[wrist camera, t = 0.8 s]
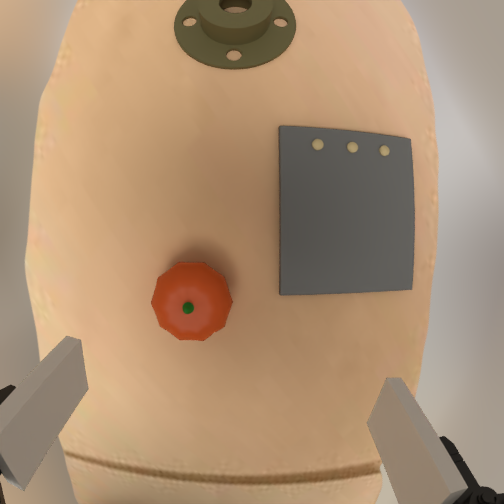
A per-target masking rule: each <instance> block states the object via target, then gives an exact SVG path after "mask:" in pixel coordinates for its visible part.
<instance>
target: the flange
mask: <svg viewBox="0 0 504 504" xmlns="http://www.w3.org/2000/svg"><path fill="white" fill-rule="evenodd" d="M229 7H242V8H245V9H248V10H247V11H245V12H242V13H229V12H226V11H224V10H223V9H225V8H229ZM188 18H194V19H196V20H197V22H196V23H195V24H194V25H192V26H184V25H183V24H182V23H183V21H184V20H186V19H188ZM275 19H284V20H285V21H286V22H287V23H288V25H287V26H285V27H279V26H276V25H275V24H274V22H273V21H274V20H275ZM295 30H296V20H295V16H294V13H293V11H292V9H291V8H290V6H289V5H288V3H287V2H286V1H285V0H186V1H185V2H184V4H183V5H182V6H181V7H180V9H179V11H178V13H177V15H176V18H175V22H174V31H175V35H176V39H177V41H178V43H179V45H180V47H181V48H182V49H183V50H184V51H185V52H186V53H187V54H188V55H189V56H190V57H192V58H193V59H195V60H197V61H198V62H200V63H203V64H205V65H208V66H212V67H216V68H221V69H247V68H252V67H256V66H260V65H263V64H265V63H268V62H270V61H272V60H274V59H275V58H277V57H278V56H280V55H281V54H282V53H283V52H284V51H285V50H286V49H287V48H288V47H289V45H290V44H291V42H292V40H293V37H294V34H295ZM232 50H236V51H239V52H240V53H241V55H242V57H241V58H240V59H239V60H236V61H231V60H229V59H228V58H227V57H226V54H227V53H228V52H229V51H232Z"/></svg>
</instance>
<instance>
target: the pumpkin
mask: <svg viewBox="0 0 504 504" xmlns="http://www.w3.org/2000/svg"><path fill="white" fill-rule="evenodd" d="M232 303H233V301H232V298H231V295H230V293H229V290H228V287H227V284H226V280H225V277H224V276H222V275H221V274H219V273H218V272H216V271H215V270H213V269H212V268H211V267H210V266H208V265H207V264H206V263H204V262H202V263H185V262H179V263H177V264H176V265H175V266H173V267H172V268H171V269H170V270H168V271H167V272H165V273H164V274H163V275H161V276H160V277H159V278H158V279H157V283H156V288H155V291H154V295H153V298H152V301H151V304H152V307H153V309H154V311H155V314H156V316H157V319H158V322H159V325H160V327H162V328H164V329H165V330H167V331H168V332H170V333H171V334H172V335H174V336H175V337H176V338H178V339H179V340H200V341H204V340H205V339H207V338H208V337H209V336H211V335H212V334H213V333H214V332H217V331H218V330H220V329H222V328H223V327H225V324H226V320H227V317H228V314H229V311H230V308H231V305H232Z"/></svg>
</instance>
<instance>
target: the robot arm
mask: <svg viewBox="0 0 504 504" xmlns="http://www.w3.org/2000/svg"><path fill="white" fill-rule="evenodd" d="M87 390H88V383H87V377H86V371H85V365H84V358H83V351H82V343H81V340H80V339H76V338H73V337H69V336H66V337H65V338H64V339H63V340H62V341H61V342H60V343H59V344H58V345H57V346H56V347H55V348H54V349H53V350H52V351H51V352H50V353H49V354H48V355H47V356H46V357H45V358H44V359H43V360H42V361H41V362H40V363H39V364H38V365H37V366H36V367H35V368H34V369H33V370H32V371H31V373H30V374H29V375H28V376H27V377H26V378H25V379H24V380H23V381H22V382H21V383H20V384H19V385H18V386H17V387H15V386H12V385H9V386H7V387H5V388H3V389H1V390H0V475H1V473H2V474H3V476H4V477H5V478H6V480H7V482H9V483H10V484H12V485H14V486H16V487H18V488H19V489H21V490H23V491H24V490H25V488H26V487H27V485H28V484H29V482H30V480H31V478H32V477H33V475H34V473H35V472H36V470H37V468H38V467H39V465H40V463H41V462H42V460H43V458H44V457H45V455H46V454H47V452H48V450H49V449H50V447H51V446H52V444H53V442H54V441H55V439H56V438H57V436H58V435H59V433H60V431H61V430H62V428H63V427H64V425H65V424H66V422H67V421H68V419H69V418H70V416H71V414H72V413H73V411H74V410H75V408H76V407H77V405H78V404H79V402H80V401H81V399H82V398H83V396H84V395H85V393H86V392H87ZM367 425H368V427H369V430H370V432H371V435H372V437H373V440H374V442H375V444H376V447H377V449H378V452H379V454H380V457H381V459H382V462H383V464H384V467H385V469H386V472H387V475H388V477H389V480H390V482H391V485H392V487H393V490H394V493H395V495H396V498H397V501H398V503H399V504H504V493H502V494H497V493H496V492H495V491H494V490H492V489H491V488H489V487H483V486H482V487H480V486H479V485H478V483H477V481H476V479H475V478H474V476H473V475H472V473H471V471H470V470H469V468H468V466H467V465H466V463H465V461H463V458H462V457H461V455H460V454H459V452H458V450H457V449H456V447H455V445H454V444H453V443H452V442H451V441H450V440H448V439H447V438H446V437H445V436H442V437H438V436H437V434H436V432H435V430H434V429H433V427H432V426H431V424H430V422H429V421H428V419H427V417H426V416H425V414H424V413H423V411H422V410H421V408H420V406H419V405H418V403H417V402H416V400H415V399H414V397H413V395H412V394H411V392H410V391H409V389H408V388H407V386H406V385H405V383H404V382H403V380H402V379H401V378H386V380H385V383H384V385H383V388H382V390H381V392H380V395H379V397H378V399H377V402H376V404H375V406H374V408H373V410H372V413H371V415H370V417H369V419H368V421H367ZM0 504H6V503H5V499H4V495H3V491H2V487H1V483H0Z"/></svg>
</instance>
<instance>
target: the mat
mask: <svg viewBox="0 0 504 504" xmlns="http://www.w3.org/2000/svg"><path fill="white" fill-rule="evenodd" d="M279 183H280V273H279V294H280V295H315V294H341V293H362V292H381V291H398V290H412V282H413V266H414V236H415V207H414V177H413V160H412V147H411V139H408V138H402V137H395V136H388V135H381V134H373V133H365V132H357V131H347V130H337V129H326V128H312V127H296V126H280V127H279Z"/></svg>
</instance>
